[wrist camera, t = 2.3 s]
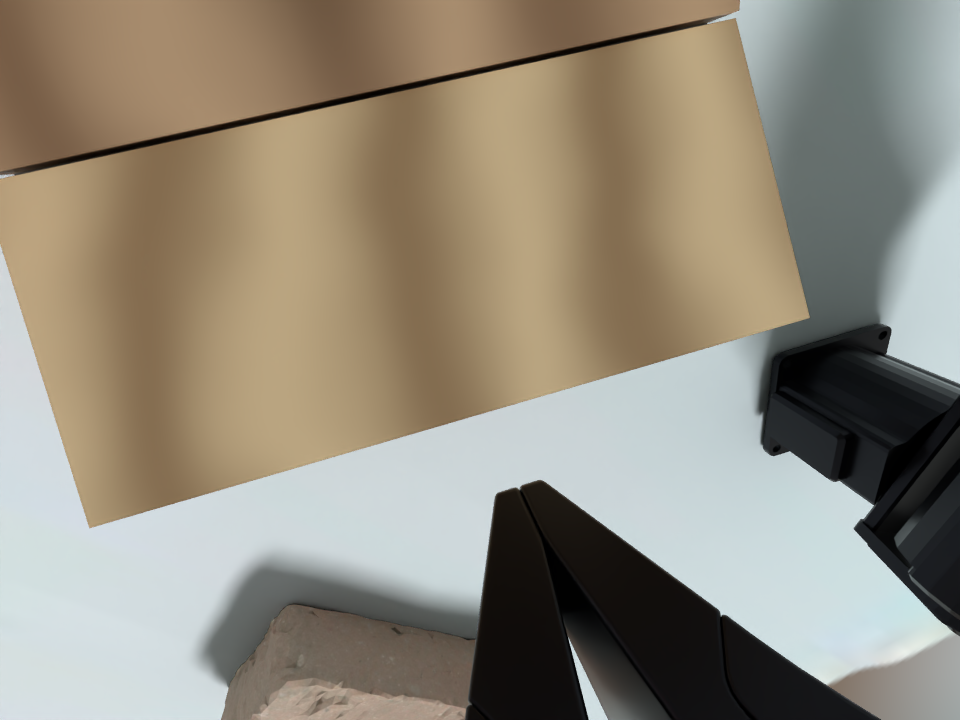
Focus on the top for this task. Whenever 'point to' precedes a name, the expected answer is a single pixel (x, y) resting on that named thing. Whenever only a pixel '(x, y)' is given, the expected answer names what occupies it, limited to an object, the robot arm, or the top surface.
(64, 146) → the floor base
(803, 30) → the top surface
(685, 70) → the oak plank
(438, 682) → the brick
